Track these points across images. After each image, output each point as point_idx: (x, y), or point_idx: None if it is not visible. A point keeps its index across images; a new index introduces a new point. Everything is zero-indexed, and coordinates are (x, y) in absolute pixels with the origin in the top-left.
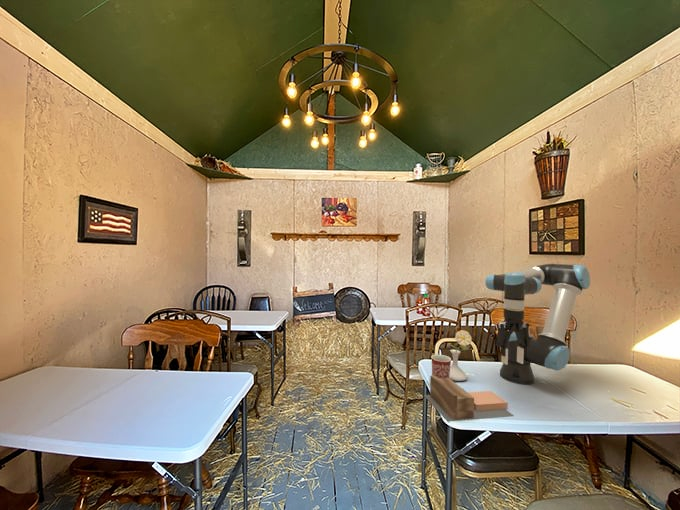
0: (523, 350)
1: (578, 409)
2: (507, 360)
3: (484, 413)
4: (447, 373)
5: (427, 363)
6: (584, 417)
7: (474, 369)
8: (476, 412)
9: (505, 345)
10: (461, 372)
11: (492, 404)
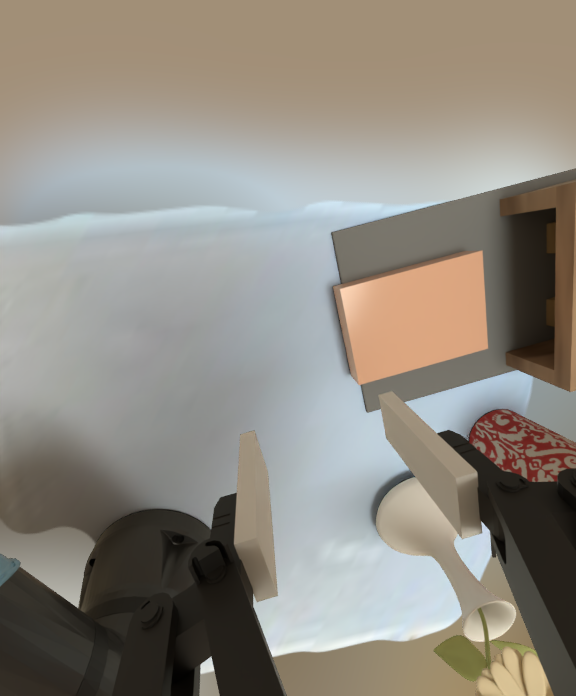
0: (237, 523)
1: (18, 333)
2: (395, 409)
3: (441, 238)
4: (537, 446)
5: (458, 600)
6: (27, 267)
7: (300, 593)
8: (468, 241)
9: (525, 508)
10: (414, 515)
11: (408, 269)
